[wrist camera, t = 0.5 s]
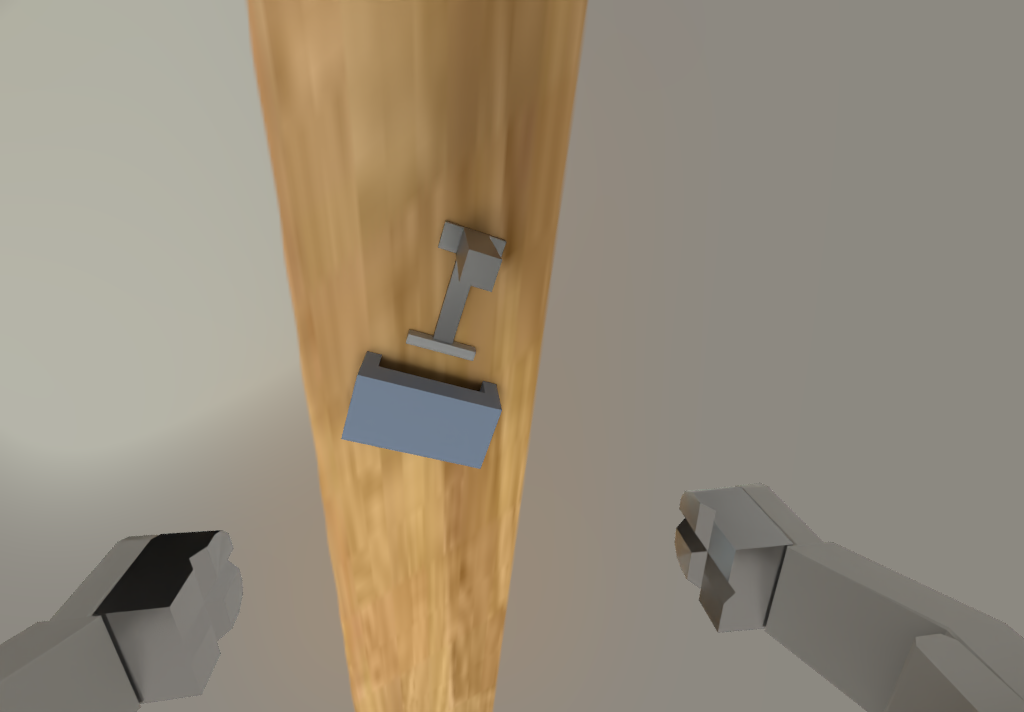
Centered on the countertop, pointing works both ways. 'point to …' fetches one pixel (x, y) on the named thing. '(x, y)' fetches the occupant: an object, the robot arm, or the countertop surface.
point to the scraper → (461, 285)
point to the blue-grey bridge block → (421, 415)
